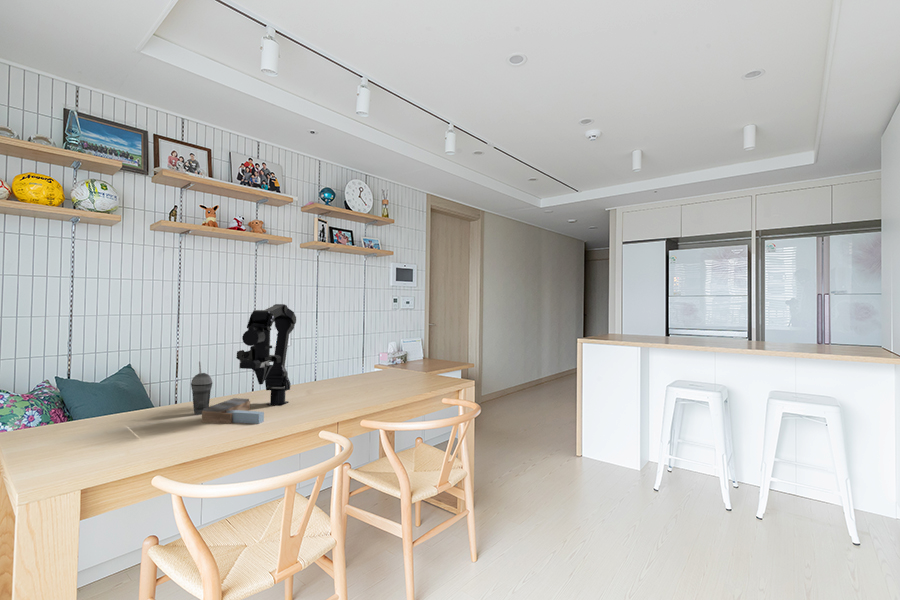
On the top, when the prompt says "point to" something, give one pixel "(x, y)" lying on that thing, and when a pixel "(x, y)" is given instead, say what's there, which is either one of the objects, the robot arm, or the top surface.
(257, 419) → the bar
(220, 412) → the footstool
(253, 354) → the robot arm
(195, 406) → the beverage cup
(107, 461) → the top surface
